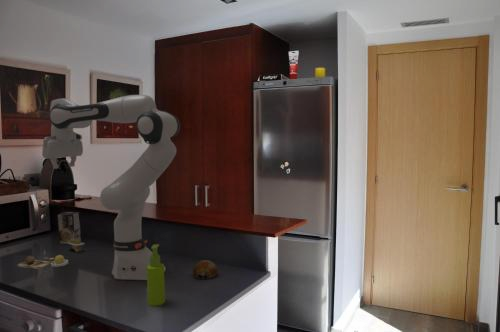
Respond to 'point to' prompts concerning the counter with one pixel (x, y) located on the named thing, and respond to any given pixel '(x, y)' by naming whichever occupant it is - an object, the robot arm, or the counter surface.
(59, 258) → the mustard ball
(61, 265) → the white bowl
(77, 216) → the coffee box
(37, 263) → the twin rack
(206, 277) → the bread roll
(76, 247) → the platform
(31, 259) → the walnut ball
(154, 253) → the soap dispenser
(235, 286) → the counter surface
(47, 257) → the card
